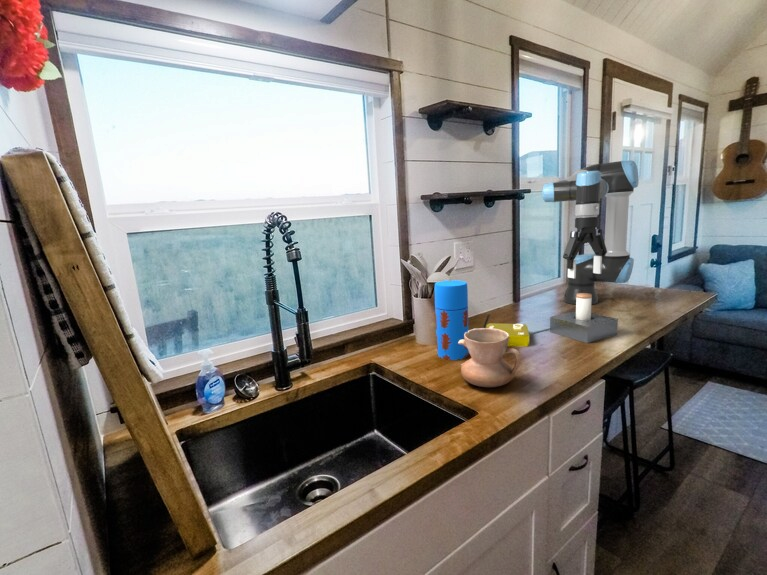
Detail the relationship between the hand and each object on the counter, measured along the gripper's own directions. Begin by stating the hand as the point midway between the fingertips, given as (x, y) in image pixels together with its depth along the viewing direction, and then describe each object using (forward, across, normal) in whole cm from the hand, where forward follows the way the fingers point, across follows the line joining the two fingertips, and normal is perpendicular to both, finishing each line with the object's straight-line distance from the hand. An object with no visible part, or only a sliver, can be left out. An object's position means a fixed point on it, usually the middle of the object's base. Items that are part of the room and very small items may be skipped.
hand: (584, 275), depth 139 cm
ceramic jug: (+23, -56, -13) cm, 61 cm away
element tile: (+23, -26, +11) cm, 37 cm away
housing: (+22, 0, 0) cm, 22 cm away
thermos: (+23, -52, +10) cm, 57 cm away
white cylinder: (+22, 0, 0) cm, 22 cm away
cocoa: (+23, -40, +12) cm, 47 cm away
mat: (+22, -11, +16) cm, 29 cm away
